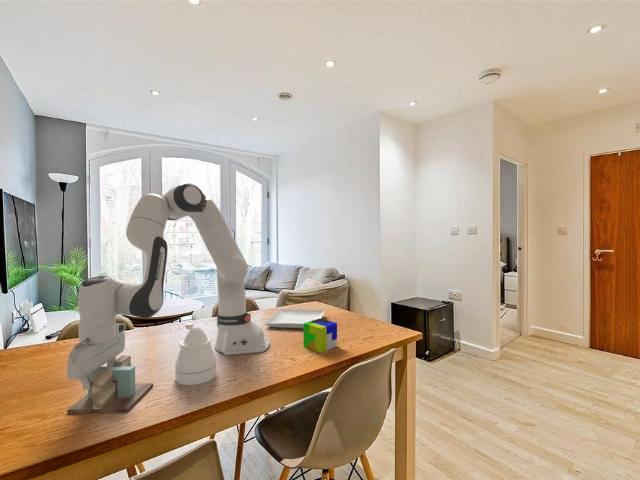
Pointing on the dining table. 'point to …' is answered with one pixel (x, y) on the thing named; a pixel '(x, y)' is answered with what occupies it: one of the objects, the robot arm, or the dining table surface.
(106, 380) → the stand
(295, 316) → the square plate
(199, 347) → the honey pot
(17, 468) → the dining table surface
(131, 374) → the green arch block
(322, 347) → the puzzle toy
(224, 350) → the robot arm
